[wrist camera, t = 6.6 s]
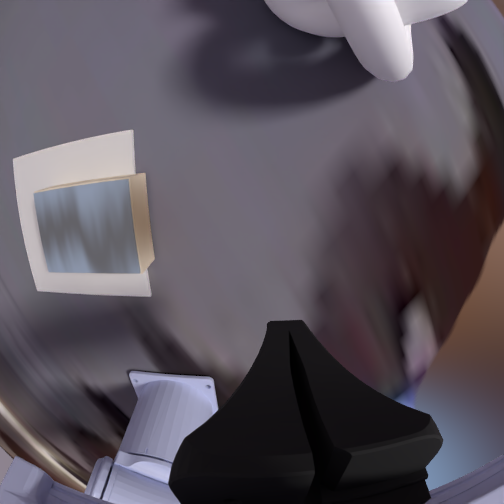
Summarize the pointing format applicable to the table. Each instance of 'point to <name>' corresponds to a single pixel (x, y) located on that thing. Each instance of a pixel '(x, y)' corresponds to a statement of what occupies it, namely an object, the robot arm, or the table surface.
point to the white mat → (68, 171)
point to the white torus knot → (366, 27)
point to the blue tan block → (96, 225)
